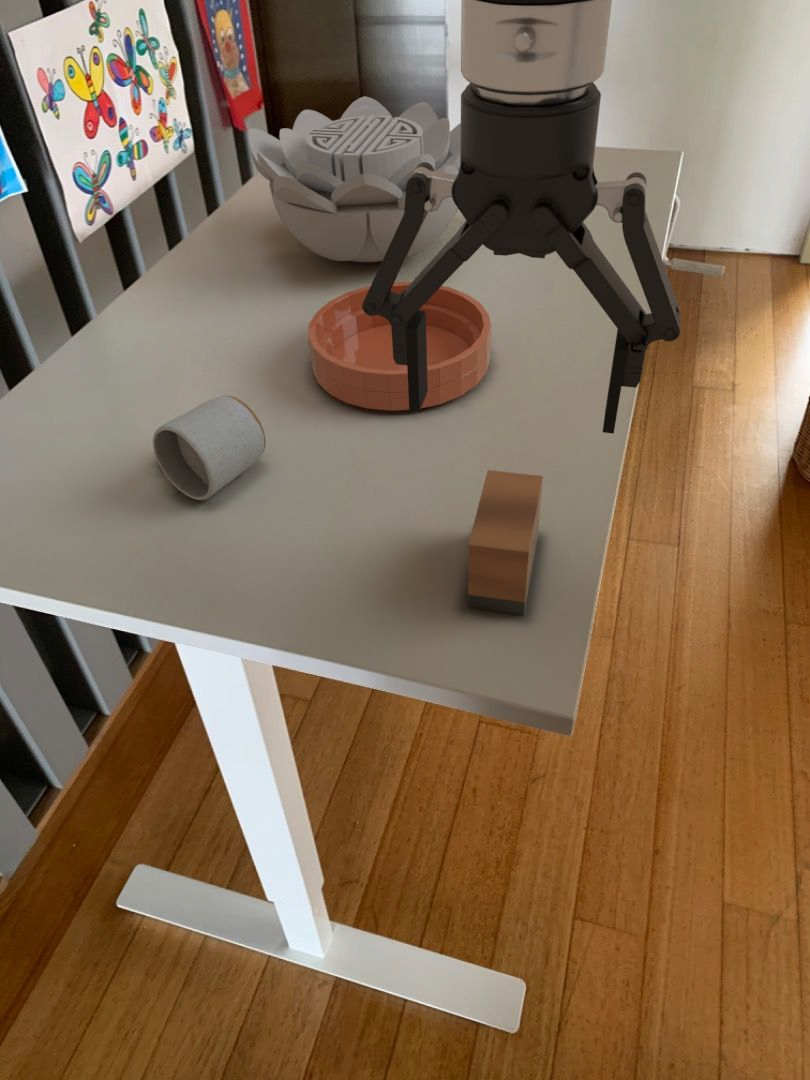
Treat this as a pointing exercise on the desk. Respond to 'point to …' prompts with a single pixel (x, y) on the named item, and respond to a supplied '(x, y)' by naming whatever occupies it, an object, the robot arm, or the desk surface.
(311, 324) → the terracotta bowl
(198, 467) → the ceramic mug
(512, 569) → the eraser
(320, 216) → the decorative bowl
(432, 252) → the desk surface
